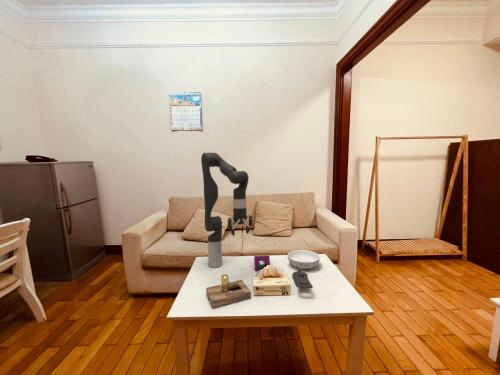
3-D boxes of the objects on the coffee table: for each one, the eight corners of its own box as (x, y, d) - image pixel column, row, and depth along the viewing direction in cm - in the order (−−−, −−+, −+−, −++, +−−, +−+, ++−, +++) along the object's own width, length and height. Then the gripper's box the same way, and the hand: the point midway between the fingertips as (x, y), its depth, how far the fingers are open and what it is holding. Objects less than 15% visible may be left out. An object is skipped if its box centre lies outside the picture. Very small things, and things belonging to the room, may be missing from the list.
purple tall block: (254, 269, 164) (255, 269, 147) (254, 257, 167) (254, 255, 150) (267, 269, 164) (270, 269, 147) (267, 256, 167) (269, 255, 150)
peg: (220, 294, 123) (219, 275, 121) (228, 292, 124) (227, 273, 123) (222, 299, 119) (222, 279, 117) (230, 297, 120) (230, 277, 119)
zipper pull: (296, 286, 119) (291, 264, 144) (296, 298, 120) (291, 274, 145) (314, 286, 118) (306, 264, 143) (313, 299, 119) (306, 275, 144)
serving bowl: (306, 256, 171) (306, 247, 170) (326, 268, 152) (326, 258, 151) (281, 262, 162) (281, 252, 161) (300, 275, 143) (300, 264, 142)
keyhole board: (206, 294, 124) (206, 287, 124) (241, 286, 132) (241, 279, 132) (212, 308, 112) (212, 301, 112) (251, 298, 120) (250, 291, 120)
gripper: (248, 204, 139) (249, 230, 141) (225, 206, 133) (226, 234, 135) (254, 206, 132) (254, 234, 134) (230, 209, 126) (230, 238, 128)
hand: (240, 234), depth 135 cm, fingers open, 8 cm apart
